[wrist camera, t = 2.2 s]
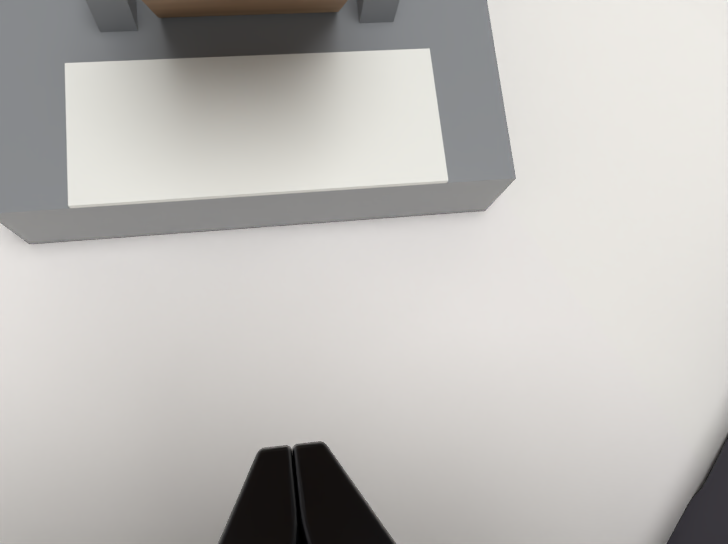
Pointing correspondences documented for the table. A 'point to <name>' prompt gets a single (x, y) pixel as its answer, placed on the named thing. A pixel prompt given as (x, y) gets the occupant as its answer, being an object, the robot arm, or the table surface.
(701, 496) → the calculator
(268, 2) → the lever
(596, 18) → the table surface
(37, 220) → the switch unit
